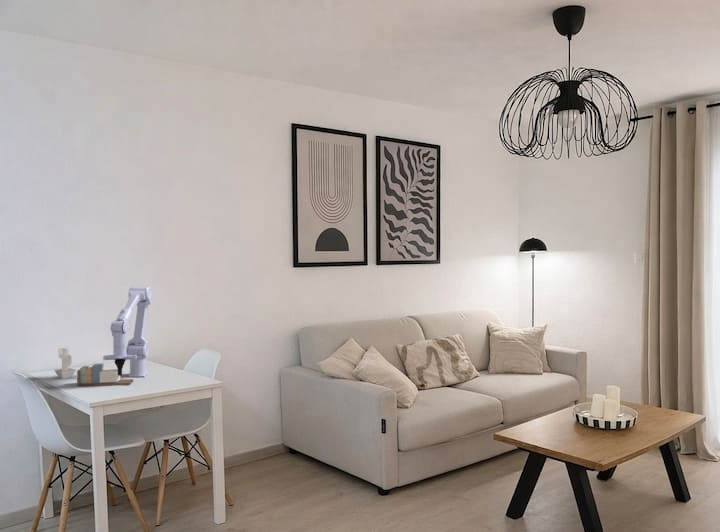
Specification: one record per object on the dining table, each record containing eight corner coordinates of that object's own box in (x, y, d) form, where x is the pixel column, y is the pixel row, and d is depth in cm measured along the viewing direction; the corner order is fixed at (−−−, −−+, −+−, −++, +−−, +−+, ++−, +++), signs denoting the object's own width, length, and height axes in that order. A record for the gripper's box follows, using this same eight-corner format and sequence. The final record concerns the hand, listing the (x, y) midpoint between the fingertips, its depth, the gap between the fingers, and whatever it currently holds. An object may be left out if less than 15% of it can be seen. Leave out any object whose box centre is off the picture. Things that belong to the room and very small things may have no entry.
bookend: (103, 379, 292) (103, 368, 292) (120, 379, 293) (120, 368, 293) (99, 382, 285) (99, 371, 285) (116, 382, 286) (116, 371, 286)
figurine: (62, 379, 297) (62, 348, 296) (53, 377, 302) (52, 346, 302) (77, 377, 302) (76, 346, 302) (67, 374, 308) (67, 344, 308)
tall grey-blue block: (95, 380, 291) (95, 363, 291) (103, 380, 292) (103, 363, 292) (92, 383, 285) (92, 365, 285) (100, 382, 286) (100, 365, 286)
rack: (82, 382, 291) (82, 365, 291) (133, 381, 295) (133, 364, 295) (77, 386, 283) (77, 368, 283) (129, 384, 287) (129, 367, 287)
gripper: (101, 347, 284) (101, 377, 285) (134, 347, 287) (134, 376, 287) (105, 345, 291) (105, 374, 292) (137, 344, 294) (137, 373, 294)
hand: (120, 375), depth 290 cm, fingers closed
